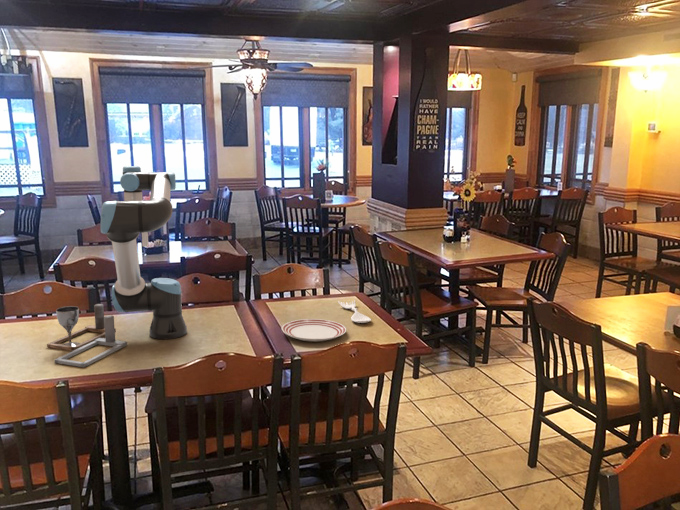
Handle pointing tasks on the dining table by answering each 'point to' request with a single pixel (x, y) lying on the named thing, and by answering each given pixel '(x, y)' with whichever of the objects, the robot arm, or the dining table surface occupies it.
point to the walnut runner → (97, 328)
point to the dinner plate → (313, 329)
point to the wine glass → (68, 320)
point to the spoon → (357, 316)
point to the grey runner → (108, 341)
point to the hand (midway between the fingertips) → (136, 249)
